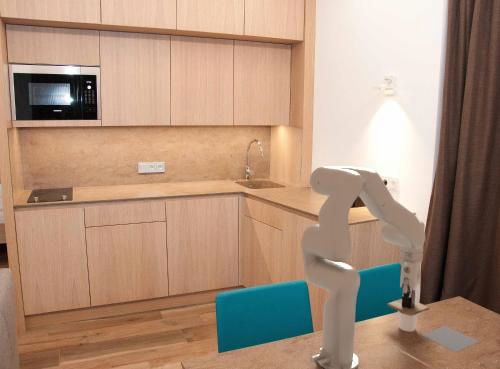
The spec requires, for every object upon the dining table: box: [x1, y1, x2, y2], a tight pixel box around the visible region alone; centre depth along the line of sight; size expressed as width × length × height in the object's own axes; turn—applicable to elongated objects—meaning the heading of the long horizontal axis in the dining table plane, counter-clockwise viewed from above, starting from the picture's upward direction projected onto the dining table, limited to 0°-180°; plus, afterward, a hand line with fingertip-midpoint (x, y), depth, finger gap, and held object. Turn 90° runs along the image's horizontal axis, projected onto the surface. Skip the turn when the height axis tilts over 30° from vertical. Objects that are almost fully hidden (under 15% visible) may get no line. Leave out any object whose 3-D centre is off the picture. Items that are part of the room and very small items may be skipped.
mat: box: [421, 325, 480, 353], centre depth 154 cm, size 13×13×1 cm
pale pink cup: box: [397, 310, 419, 332], centre depth 162 cm, size 7×7×7 cm
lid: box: [387, 290, 430, 316], centre depth 160 cm, size 10×10×6 cm
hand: (408, 304), depth 161 cm, fingers closed on lid, 4 cm apart
